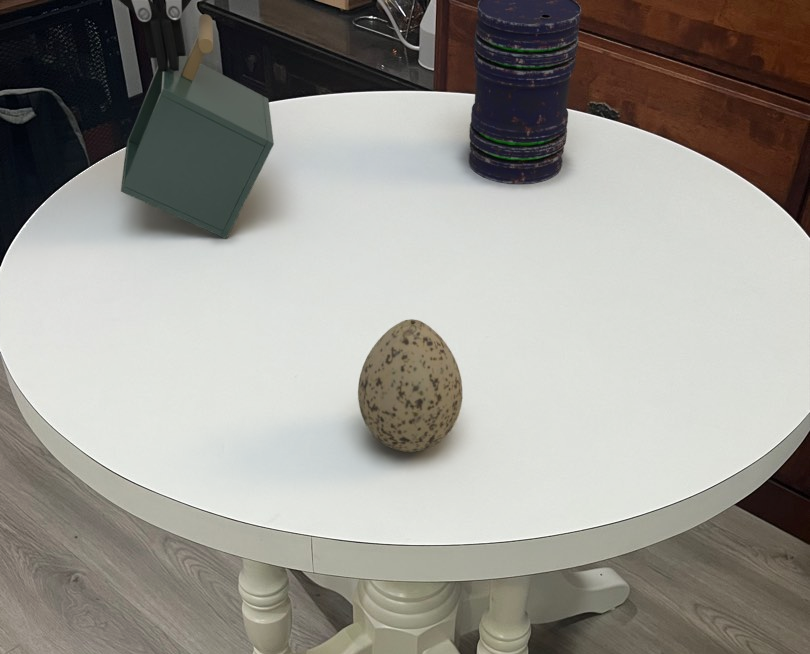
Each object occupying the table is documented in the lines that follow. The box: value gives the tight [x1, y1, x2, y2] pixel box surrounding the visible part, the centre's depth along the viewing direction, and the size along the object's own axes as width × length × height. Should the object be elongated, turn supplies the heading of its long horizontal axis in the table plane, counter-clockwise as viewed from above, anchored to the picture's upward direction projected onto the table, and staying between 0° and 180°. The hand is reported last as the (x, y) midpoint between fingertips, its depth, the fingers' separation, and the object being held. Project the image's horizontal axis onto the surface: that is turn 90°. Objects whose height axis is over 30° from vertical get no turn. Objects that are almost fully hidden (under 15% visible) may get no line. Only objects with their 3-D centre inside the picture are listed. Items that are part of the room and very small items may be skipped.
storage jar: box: [468, 0, 582, 185], centre depth 98 cm, size 10×10×15 cm
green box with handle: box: [120, 13, 275, 240], centre depth 89 cm, size 10×10×15 cm
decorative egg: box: [357, 318, 463, 453], centre depth 68 cm, size 7×7×10 cm
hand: (169, 64), depth 85 cm, fingers closed
